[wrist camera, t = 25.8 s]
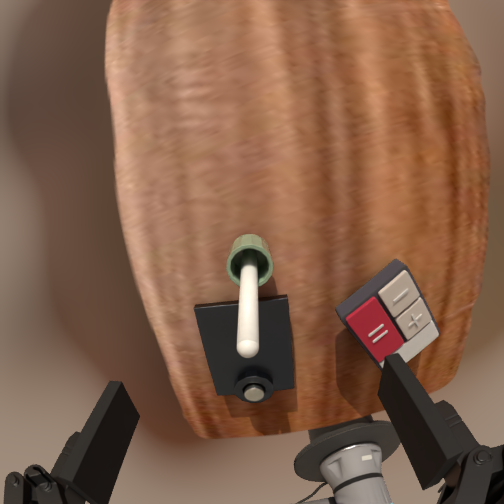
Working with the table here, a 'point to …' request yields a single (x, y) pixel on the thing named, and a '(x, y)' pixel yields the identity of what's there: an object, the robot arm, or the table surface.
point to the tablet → (240, 368)
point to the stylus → (248, 306)
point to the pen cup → (262, 258)
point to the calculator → (389, 315)
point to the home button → (254, 391)
